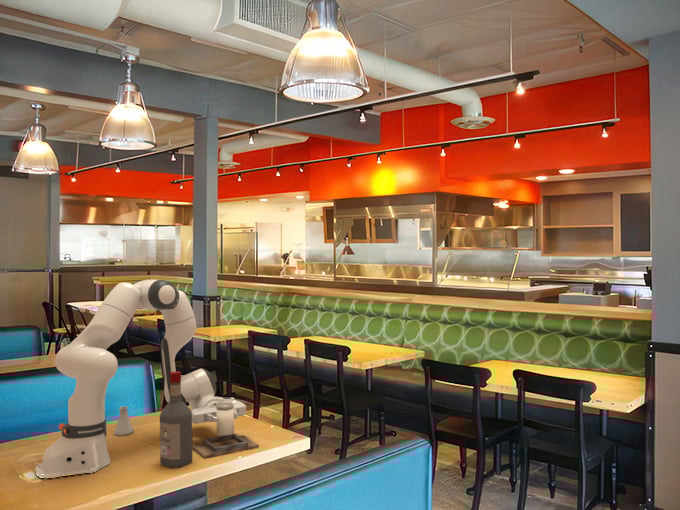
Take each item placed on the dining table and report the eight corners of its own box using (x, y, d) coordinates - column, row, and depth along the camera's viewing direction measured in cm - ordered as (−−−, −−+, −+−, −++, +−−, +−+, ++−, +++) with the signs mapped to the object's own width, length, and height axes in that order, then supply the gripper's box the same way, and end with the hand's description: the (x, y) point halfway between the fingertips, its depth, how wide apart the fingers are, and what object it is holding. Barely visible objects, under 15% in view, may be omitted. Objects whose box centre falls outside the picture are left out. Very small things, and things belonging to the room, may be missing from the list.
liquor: (176, 469, 193) (174, 376, 192) (156, 464, 198) (154, 373, 197) (196, 461, 201) (195, 371, 200) (177, 456, 205) (175, 368, 205)
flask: (137, 430, 235) (136, 405, 235) (128, 436, 228) (128, 410, 227) (119, 430, 236) (119, 404, 235) (110, 436, 228) (109, 409, 228)
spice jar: (220, 436, 210) (220, 408, 209) (214, 432, 215) (213, 404, 214) (236, 433, 213) (236, 405, 213) (230, 429, 218) (229, 401, 218)
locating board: (204, 458, 203) (204, 451, 203) (191, 448, 214) (191, 441, 214) (258, 447, 213) (258, 440, 213) (243, 437, 224) (243, 431, 224)
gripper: (184, 405, 219) (197, 413, 207) (237, 396, 230) (252, 404, 218) (184, 422, 219) (197, 432, 207) (237, 413, 230) (252, 421, 218)
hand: (226, 417), depth 213 cm, fingers closed on spice jar, 6 cm apart
